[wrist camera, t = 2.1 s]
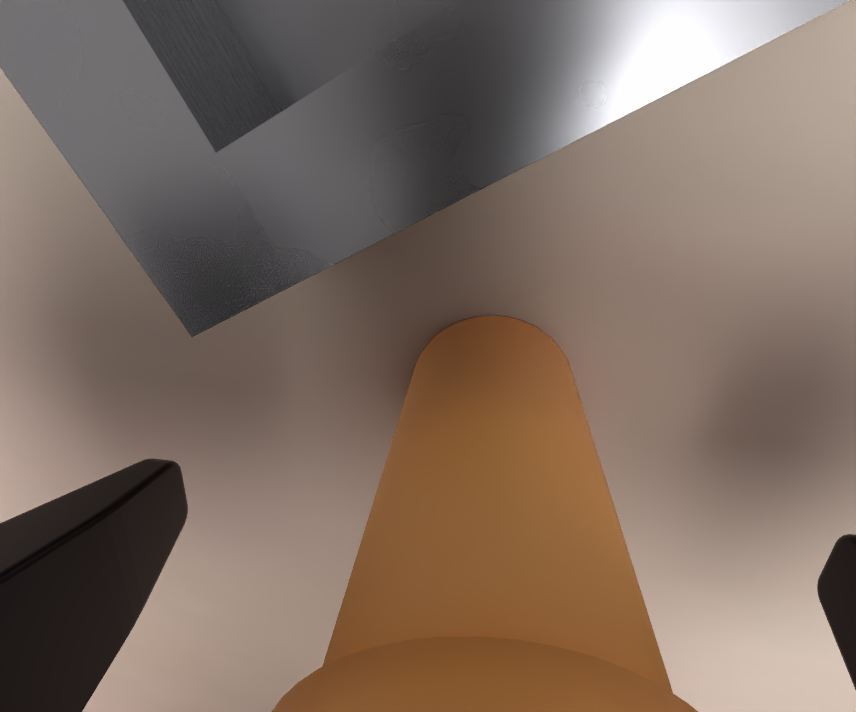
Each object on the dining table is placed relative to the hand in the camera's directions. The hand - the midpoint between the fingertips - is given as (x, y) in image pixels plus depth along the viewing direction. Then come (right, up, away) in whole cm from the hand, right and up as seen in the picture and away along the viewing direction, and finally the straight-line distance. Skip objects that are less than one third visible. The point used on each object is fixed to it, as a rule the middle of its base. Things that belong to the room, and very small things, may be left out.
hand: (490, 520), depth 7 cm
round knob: (0, +2, +3) cm, 4 cm away
